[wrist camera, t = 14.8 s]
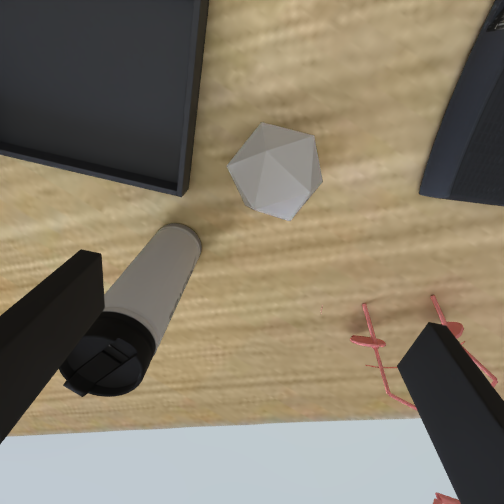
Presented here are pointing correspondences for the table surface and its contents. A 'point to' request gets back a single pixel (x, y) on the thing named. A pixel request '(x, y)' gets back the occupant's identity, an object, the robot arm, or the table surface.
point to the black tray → (103, 87)
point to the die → (276, 170)
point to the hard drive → (473, 126)
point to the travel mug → (134, 316)
